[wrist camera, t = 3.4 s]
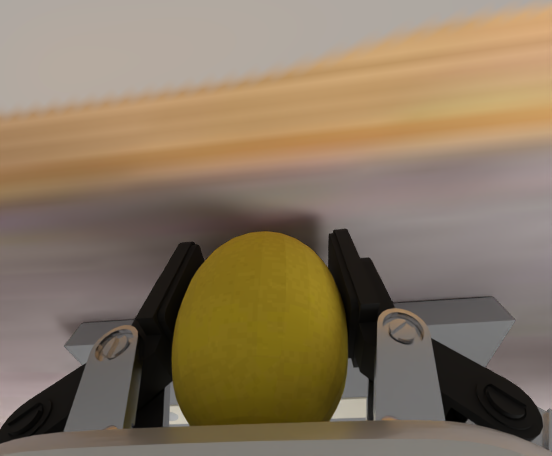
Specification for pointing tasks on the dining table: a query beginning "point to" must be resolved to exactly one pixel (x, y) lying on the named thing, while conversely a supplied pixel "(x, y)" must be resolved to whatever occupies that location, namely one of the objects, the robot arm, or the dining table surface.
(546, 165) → the dining table surface
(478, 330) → the panel
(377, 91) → the dining table surface
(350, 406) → the strip
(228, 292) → the lemon
